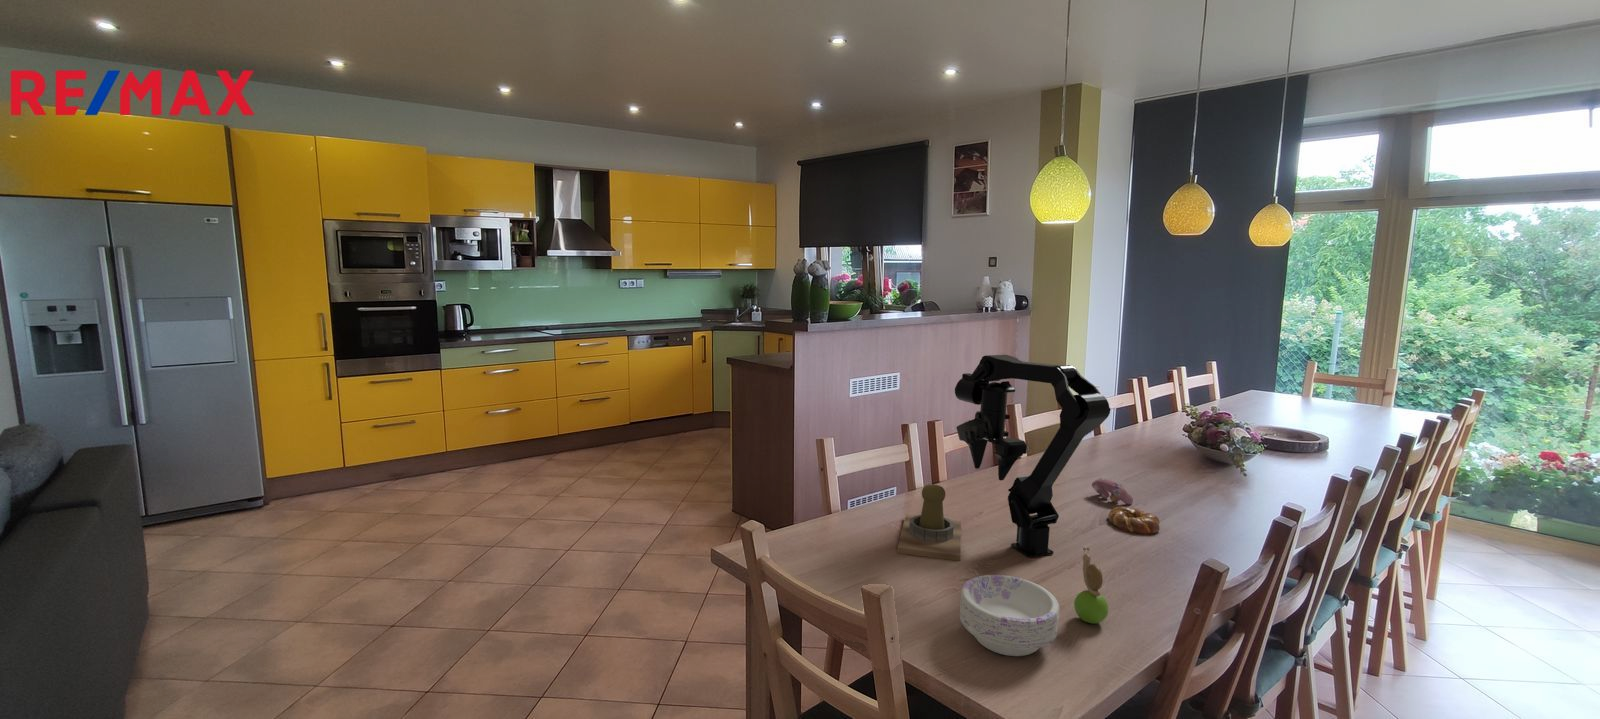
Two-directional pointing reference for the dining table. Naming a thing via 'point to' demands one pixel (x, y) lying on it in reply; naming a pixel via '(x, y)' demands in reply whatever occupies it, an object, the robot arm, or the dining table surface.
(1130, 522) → the pretzel
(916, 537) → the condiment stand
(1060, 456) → the robot arm
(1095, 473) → the dining table surface
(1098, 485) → the video game controller
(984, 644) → the paper bowls
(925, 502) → the cork
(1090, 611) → the snail figurine
